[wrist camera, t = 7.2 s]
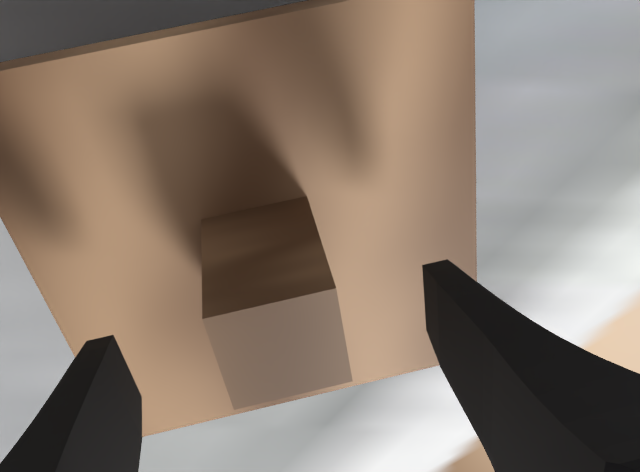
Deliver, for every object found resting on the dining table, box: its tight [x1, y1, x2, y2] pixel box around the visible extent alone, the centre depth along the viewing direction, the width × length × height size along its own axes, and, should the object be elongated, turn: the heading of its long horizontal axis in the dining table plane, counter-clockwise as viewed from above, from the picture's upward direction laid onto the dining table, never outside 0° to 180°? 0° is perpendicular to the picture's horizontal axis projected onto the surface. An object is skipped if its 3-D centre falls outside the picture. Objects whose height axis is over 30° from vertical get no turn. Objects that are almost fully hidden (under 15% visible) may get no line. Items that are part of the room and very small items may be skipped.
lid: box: [0, 0, 477, 437], centre depth 15 cm, size 12×12×5 cm
